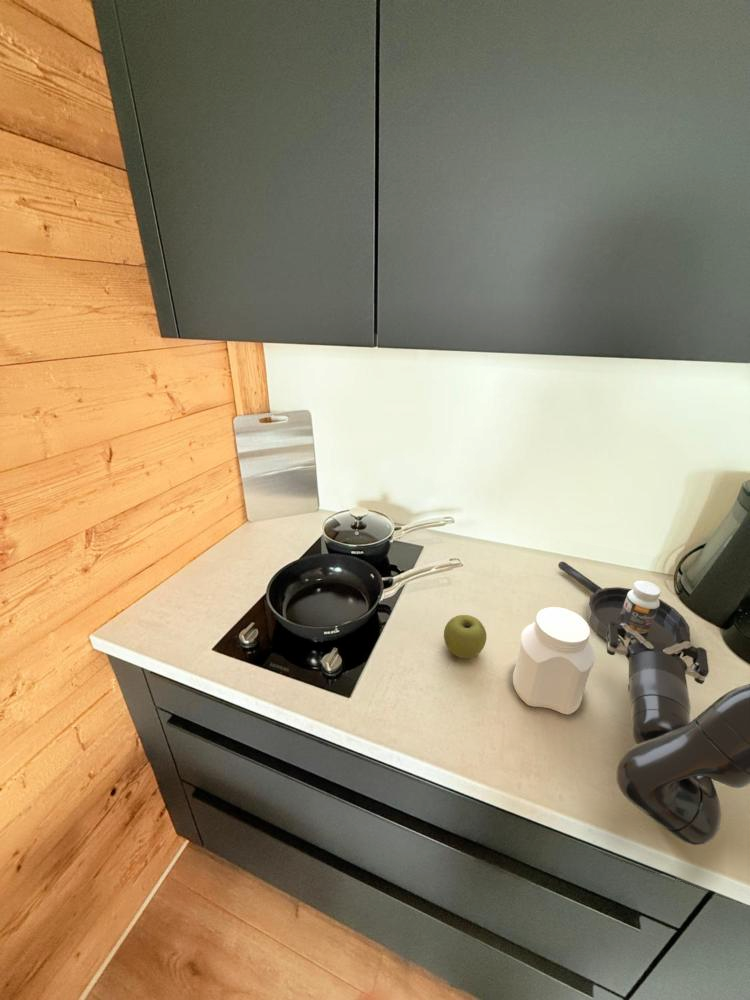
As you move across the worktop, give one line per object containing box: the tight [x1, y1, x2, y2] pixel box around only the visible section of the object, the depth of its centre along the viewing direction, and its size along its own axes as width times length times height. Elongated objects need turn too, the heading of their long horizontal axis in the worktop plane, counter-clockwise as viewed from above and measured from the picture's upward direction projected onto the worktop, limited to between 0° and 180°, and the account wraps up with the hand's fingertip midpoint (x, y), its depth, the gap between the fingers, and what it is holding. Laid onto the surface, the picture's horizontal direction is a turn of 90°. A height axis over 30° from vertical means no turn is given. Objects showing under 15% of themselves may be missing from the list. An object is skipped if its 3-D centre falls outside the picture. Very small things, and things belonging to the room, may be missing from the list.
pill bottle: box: [620, 580, 662, 634], centre depth 87 cm, size 6×6×10 cm
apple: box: [443, 614, 487, 659], centre depth 82 cm, size 8×8×7 cm
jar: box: [512, 606, 596, 716], centre depth 72 cm, size 12×10×15 cm
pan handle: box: [557, 561, 603, 594], centre depth 101 cm, size 2×13×2 cm, turn 22°
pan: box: [585, 586, 691, 647], centre depth 88 cm, size 18×18×3 cm
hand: (652, 623), depth 77 cm, fingers open, 8 cm apart
